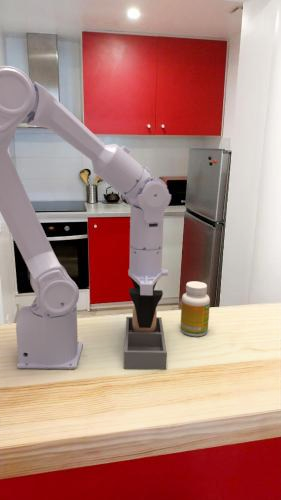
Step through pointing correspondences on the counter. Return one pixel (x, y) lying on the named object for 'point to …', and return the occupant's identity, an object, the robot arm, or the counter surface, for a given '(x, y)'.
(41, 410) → the counter surface
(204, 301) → the supplement bottle
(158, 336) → the carrier
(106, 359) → the counter surface
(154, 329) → the tan capsule
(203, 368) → the counter surface
